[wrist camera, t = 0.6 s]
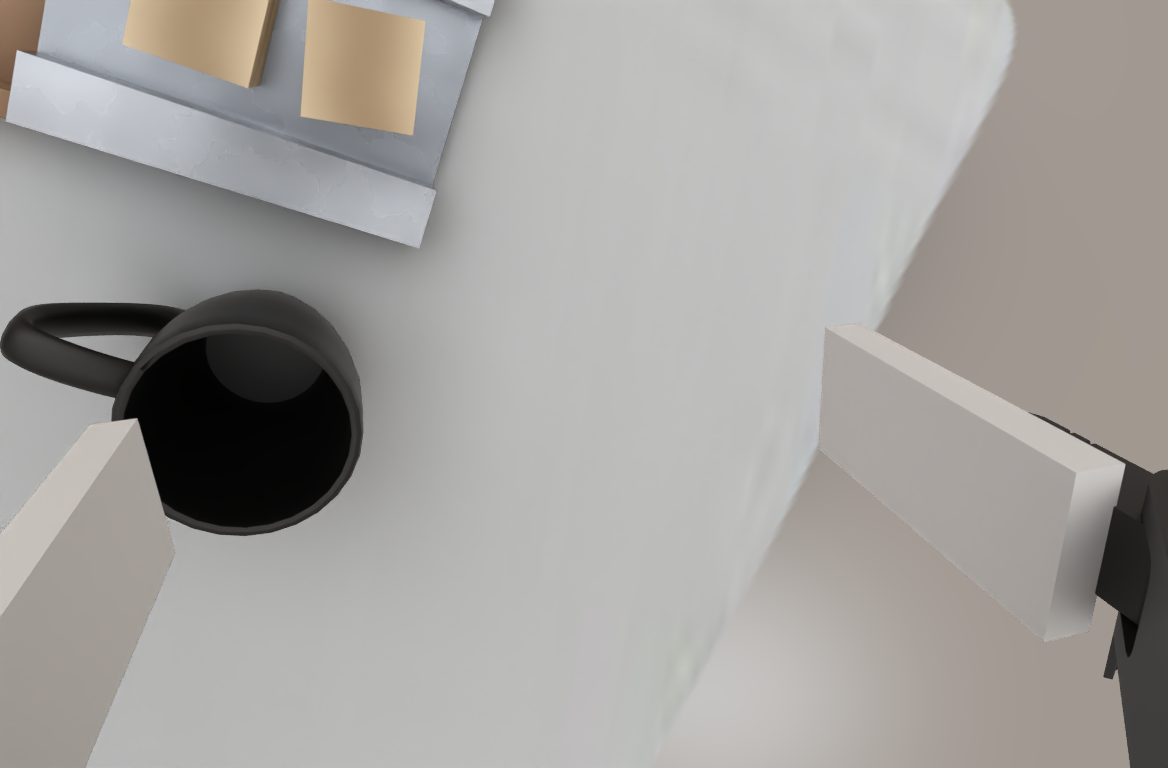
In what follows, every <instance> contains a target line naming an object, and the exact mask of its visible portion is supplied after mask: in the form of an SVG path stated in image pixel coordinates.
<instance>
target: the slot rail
mask: <svg viewBox="0 0 1168 768" xmlns="http://www.w3.org/2000/svg"><path fill="white" fill-rule="evenodd" d="M130 1H131V0H46V1H45V7H44V13H43V19H42V25H41V31H40V37H39V43H38V49H37V51H27V50H17V53H16V59H15V66H14V72H13V78H12V85H11V91H10V97H9V103H8V110H7V116H6V122H9V123H12V124H16V125H19V126H22V127H25V128H29V129H32V130H35V131H38V132H42V133H45V134H48V135H51V136H55V137H58V138H61V139H64V140H68V141H71V142H74V143H78V144H81V145H84V146H87V147H91V148H94V149H97V150H100V151H104V152H107V153H110V154H113V155H117V156H120V157H123V158H126V159H130V160H133V161H136V162H139V163H143V164H146V165H149V166H152V167H156V168H159V169H162V170H165V171H169V172H172V173H175V174H178V175H182V176H185V177H188V178H191V179H195V180H198V181H201V182H204V183H208V184H211V185H214V186H217V187H221V188H224V189H227V190H231V191H234V192H237V193H240V194H244V195H247V196H250V197H253V198H257V199H260V200H263V201H266V202H270V203H273V204H276V205H279V206H283V207H286V208H289V209H292V210H296V211H299V212H302V213H305V214H309V215H312V216H315V217H318V218H322V219H325V220H328V221H331V222H335V223H338V224H341V225H344V226H348V227H351V228H354V229H357V230H361V231H364V232H367V233H370V234H374V235H377V236H380V237H384V238H387V239H390V240H393V241H397V242H400V243H403V244H406V245H410V246H413V247H416V248H419V247H420V244H421V241H422V238H423V234H424V231H425V228H426V224H427V221H428V218H429V215H430V211H431V208H432V205H433V202H434V198H435V195H436V192H437V190H436V189H435V187H434V186H433V181H434V178H435V175H436V171H437V168H438V165H439V161H440V158H441V155H442V152H443V148H444V145H445V142H446V138H447V135H448V132H449V128H450V125H451V122H452V119H453V115H454V112H455V109H456V105H457V102H458V99H459V95H460V92H461V89H462V86H463V82H464V79H465V76H466V72H467V69H468V66H469V62H470V59H471V56H472V53H473V49H474V46H475V43H476V39H477V36H478V33H479V30H480V26H481V23H482V20H483V19H485V18H488V17H490V15H491V12H492V8H493V5H494V2H495V0H328V1H333V2H338V3H342V4H347V5H352V6H356V7H361V8H366V9H371V10H375V11H380V12H385V13H389V14H394V15H399V16H403V17H408V18H413V19H418V20H422V21H425V30H424V40H423V49H422V58H421V67H420V76H419V85H418V94H417V103H416V112H415V122H414V131H413V135H407V134H401V133H395V132H389V131H383V130H378V129H372V128H366V127H360V126H354V125H348V124H342V123H336V122H331V121H325V120H319V119H313V118H307V117H301V102H302V87H303V72H304V57H305V42H306V27H307V12H308V0H280V3H279V7H278V11H277V15H276V20H275V24H274V28H273V32H272V36H271V41H270V45H269V49H268V53H267V57H266V62H265V66H264V70H263V74H262V78H261V83H260V86H256V87H252V88H245V87H242V86H240V85H237V84H234V83H231V82H228V81H225V80H223V79H220V78H217V77H214V76H211V75H208V74H205V73H203V72H200V71H197V70H194V69H191V68H188V67H186V66H183V65H180V64H177V63H174V62H171V61H168V60H166V59H163V58H160V57H157V56H154V55H151V54H149V53H146V52H143V51H140V50H137V49H134V48H131V47H129V46H126V45H123V44H122V43H123V38H124V33H125V27H126V22H127V17H128V12H129V7H130Z"/></svg>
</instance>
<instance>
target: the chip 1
mask: <svg viewBox="0 0 1168 768" xmlns="http://www.w3.org/2000/svg"><path fill="white" fill-rule="evenodd" d="M279 3H280V0H131V1H130V7H129V12H128V17H127V22H126V27H125V33H124V38H123V43H122V44H123V45H126V46H129V47H131V48H134V49H137V50H140V51H143V52H146V53H149V54H151V55H154V56H157V57H160V58H163V59H166V60H168V61H171V62H174V63H177V64H180V65H183V66H186V67H188V68H191V69H194V70H197V71H200V72H203V73H205V74H208V75H211V76H214V77H217V78H220V79H223V80H225V81H228V82H231V83H234V84H237V85H240V86H242V87H245V88H252V87H256V86H260V83H261V78H262V74H263V70H264V66H265V62H266V57H267V53H268V49H269V45H270V41H271V36H272V32H273V28H274V24H275V20H276V15H277V11H278V7H279Z"/></svg>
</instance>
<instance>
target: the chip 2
mask: <svg viewBox="0 0 1168 768" xmlns="http://www.w3.org/2000/svg"><path fill="white" fill-rule="evenodd" d="M424 30H425V21H422V20H418V19H413V18H408V17H403V16H399V15H394V14H389V13H385V12H380V11H375V10H371V9H366V8H361V7H356V6H352V5H347V4H342V3H338V2H333V1H328V0H308V12H307V27H306V42H305V57H304V72H303V87H302V102H301V117H307V118H313V119H319V120H325V121H331V122H336V123H342V124H348V125H354V126H360V127H366V128H372V129H378V130H383V131H389V132H395V133H401V134H407V135H413V131H414V122H415V112H416V103H417V94H418V85H419V76H420V67H421V58H422V49H423V40H424Z"/></svg>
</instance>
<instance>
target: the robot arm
mask: <svg viewBox="0 0 1168 768" xmlns="http://www.w3.org/2000/svg"><path fill="white" fill-rule="evenodd" d="M818 448H819V449H820V450H821V451H822V452H824V453H825V454H826V455H827V456H828V457H830V458H831V459H832V460H833V461H834V462H835V463H836V464H838V465H839V466H840V467H841V468H842V469H843V470H844V471H846V472H847V473H848V474H849V475H850V476H851V477H853V478H854V479H855V480H856V481H857V482H858V483H860V484H861V485H862V486H863V487H864V488H865V489H866V490H868V491H869V492H870V493H871V494H872V495H873V496H875V497H876V498H877V499H878V500H879V501H880V502H882V503H883V504H884V505H885V506H886V507H887V508H889V509H890V510H891V511H892V512H893V513H895V514H896V515H897V516H898V517H899V518H900V519H901V520H903V521H904V522H905V523H906V524H907V525H909V526H910V527H911V528H912V529H913V530H914V531H915V532H916V533H918V534H919V535H920V536H921V537H922V538H923V539H925V540H926V541H927V542H928V543H929V544H930V545H931V546H933V547H934V548H935V549H936V550H937V551H939V552H940V553H941V554H942V555H943V556H944V557H945V558H947V559H948V560H949V561H950V562H951V563H952V564H954V565H955V566H956V567H957V568H958V569H959V570H960V571H962V572H963V573H964V574H965V575H966V576H967V577H969V578H970V579H971V580H972V581H973V582H974V583H976V584H977V585H978V586H979V587H980V588H981V589H983V590H984V591H985V592H986V593H987V594H988V595H989V596H991V597H992V598H993V599H994V600H995V601H996V602H998V603H999V604H1000V605H1001V606H1002V607H1003V608H1005V609H1006V610H1007V611H1008V612H1009V613H1010V614H1012V615H1013V616H1014V617H1015V618H1016V619H1017V620H1019V621H1020V622H1021V623H1022V624H1023V625H1024V626H1025V627H1027V628H1028V629H1029V630H1030V631H1031V632H1033V633H1034V634H1035V635H1036V636H1037V637H1038V638H1039V639H1041V640H1042V641H1043V642H1047V641H1051V640H1056V639H1060V638H1065V637H1069V636H1073V635H1078V634H1082V633H1087V632H1089V629H1090V625H1091V620H1092V616H1093V611H1094V607H1095V602H1096V597H1097V596H1099V597H1100V598H1101V599H1103V600H1104V601H1106V602H1107V603H1108V604H1110V605H1111V606H1112V607H1114V608H1115V609H1116V610H1118V611H1119V612H1118V616H1117V620H1116V625H1115V629H1114V634H1113V638H1112V642H1111V646H1110V651H1109V655H1108V660H1107V664H1106V668H1105V672H1104V677H1105V678H1109V679H1113V676H1114V673H1115V671H1116V670H1117V669H1118V675H1119V682H1120V690H1121V697H1122V706H1123V713H1124V721H1125V729H1126V737H1127V745H1128V753H1129V760H1130V768H1168V470H1161V471H1159V472H1157V473H1155V474H1152V473H1150V472H1149V471H1146V470H1145V469H1143V468H1141V467H1139V466H1137V465H1135V464H1133V463H1131V462H1129V461H1127V460H1126V459H1124V458H1122V457H1120V456H1118V455H1116V454H1114V453H1112V452H1110V451H1108V450H1106V449H1105V448H1103V447H1101V446H1099V445H1097V444H1090V441H1089V440H1087V439H1085V438H1084V437H1081V436H1080V435H1078V434H1076V433H1070V430H1068V429H1066V428H1064V427H1062V426H1060V425H1059V424H1057V423H1055V422H1053V421H1051V420H1049V419H1047V418H1045V417H1042V416H1039V415H1036V414H1032V413H1029V412H1026V411H1024V410H1022V409H1021V408H1018V407H1017V406H1015V405H1013V404H1011V403H1009V402H1007V401H1005V400H1004V399H1002V398H1000V397H998V396H996V395H994V394H992V393H990V392H988V391H986V390H985V389H983V388H981V387H978V386H977V385H975V384H973V383H971V382H969V381H968V380H966V379H964V378H962V377H960V376H958V375H956V374H954V373H952V372H950V371H949V370H946V369H945V368H943V367H941V366H939V365H937V364H935V363H934V362H932V361H930V360H928V359H926V358H924V357H922V356H920V355H918V354H917V353H915V352H913V351H911V350H909V349H907V348H905V347H903V346H901V345H900V344H897V343H896V342H894V341H892V340H890V339H888V338H886V337H884V336H882V335H881V334H879V333H877V332H875V331H873V330H871V329H869V328H867V327H865V326H864V325H862V324H860V323H856V324H848V325H841V326H833V327H826V328H825V341H824V358H823V375H822V392H821V408H820V425H819V442H818ZM174 555H175V549H174V546H173V542H172V539H171V535H170V532H169V528H168V525H167V521H166V518H165V514H164V511H163V507H162V503H161V500H160V496H159V493H158V489H157V486H156V482H155V479H154V475H153V472H152V468H151V465H150V461H149V458H148V454H147V451H146V447H145V443H144V440H143V436H142V433H141V429H140V426H139V422H138V419H137V418H136V419H128V420H121V421H113V422H106V423H98V424H91V425H89V426H88V427H87V428H86V430H85V431H84V432H83V433H82V435H81V436H80V437H79V438H78V439H77V441H76V442H75V443H74V444H73V446H72V447H71V448H70V449H69V451H68V452H67V453H66V454H65V455H64V457H63V458H62V459H61V460H60V462H59V463H58V464H57V465H56V467H55V468H54V469H53V470H52V471H51V473H50V474H49V475H48V476H47V478H46V479H45V480H44V481H43V483H42V484H41V485H40V486H39V487H38V489H37V490H36V491H35V492H34V494H33V495H32V496H31V497H30V499H29V500H28V501H27V502H26V503H25V505H24V506H23V507H22V508H21V510H20V511H19V512H18V513H17V515H16V516H15V517H14V518H13V519H12V521H11V522H10V523H9V524H8V526H7V527H6V528H5V529H4V531H3V532H2V533H1V534H0V768H85V766H86V764H87V762H88V759H89V757H90V755H91V752H92V750H93V747H94V745H95V743H96V740H97V738H98V736H99V733H100V731H101V728H102V726H103V724H104V721H105V719H106V717H107V714H108V712H109V709H110V707H111V705H112V702H113V700H114V697H115V695H116V693H117V690H118V688H119V686H120V683H121V681H122V678H123V676H124V674H125V671H126V669H127V667H128V664H129V662H130V659H131V657H132V655H133V652H134V650H135V647H136V645H137V643H138V640H139V638H140V636H141V633H142V631H143V628H144V626H145V624H146V621H147V619H148V617H149V614H150V612H151V609H152V607H153V605H154V602H155V600H156V598H157V595H158V593H159V590H160V588H161V586H162V583H163V581H164V578H165V576H166V574H167V571H168V569H169V567H170V564H171V562H172V559H173V557H174Z"/></svg>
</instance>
